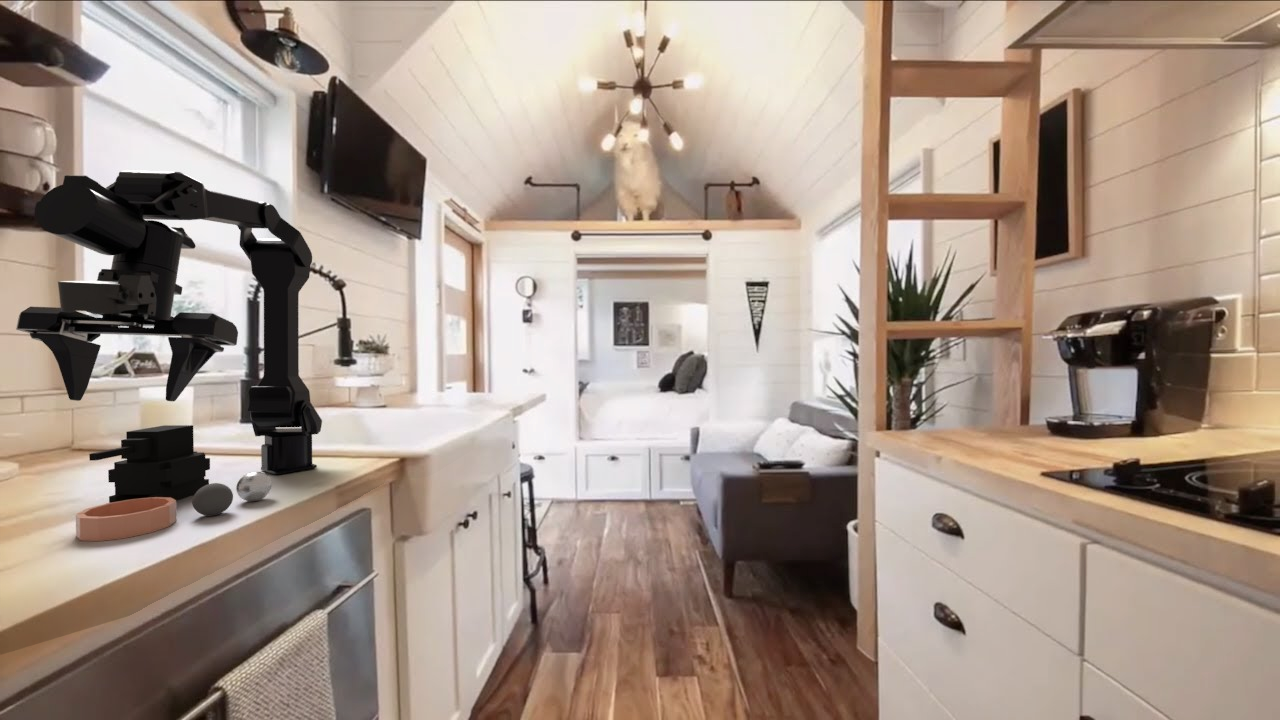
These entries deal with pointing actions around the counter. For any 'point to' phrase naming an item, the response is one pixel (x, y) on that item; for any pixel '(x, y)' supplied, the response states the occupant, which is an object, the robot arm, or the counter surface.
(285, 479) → the counter surface
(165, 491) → the toy
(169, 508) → the dish
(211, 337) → the robot arm
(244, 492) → the steel ball
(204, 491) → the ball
